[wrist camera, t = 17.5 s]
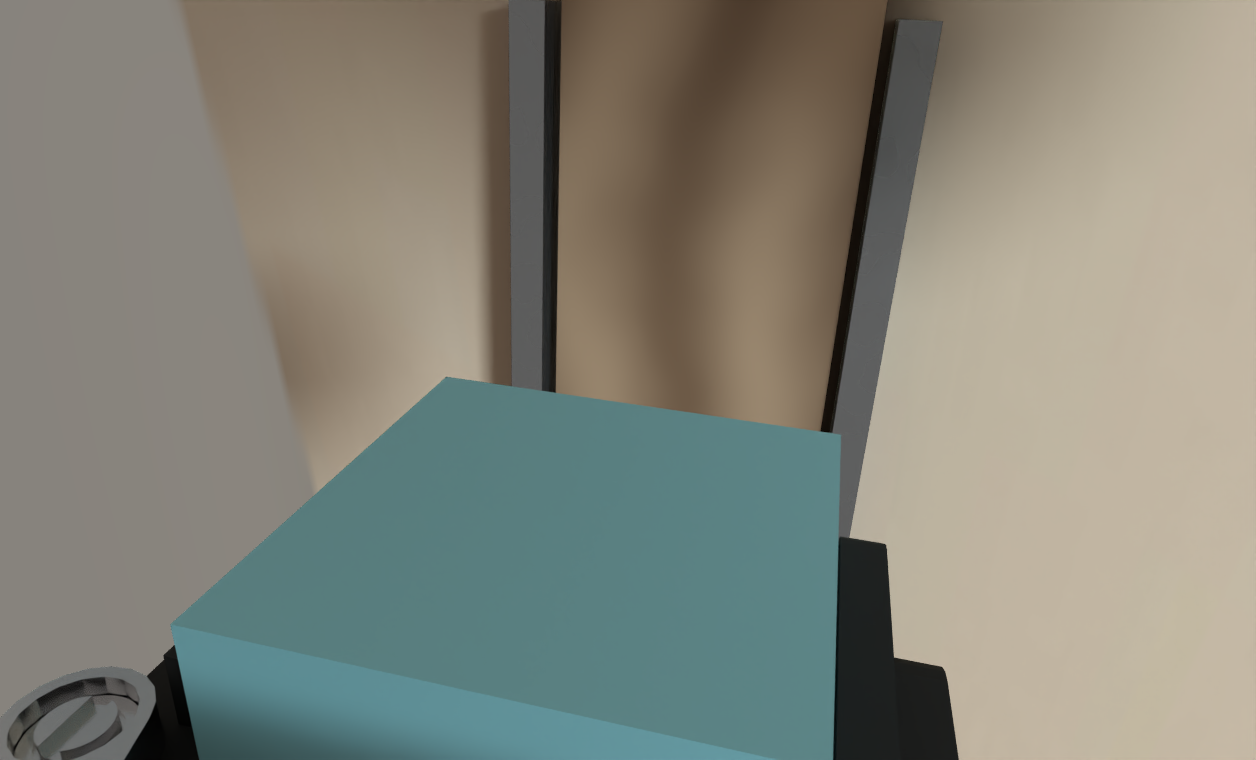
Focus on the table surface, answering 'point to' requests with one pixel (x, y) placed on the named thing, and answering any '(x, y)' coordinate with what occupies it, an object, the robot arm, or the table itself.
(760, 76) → the tan track base
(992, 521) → the table surface
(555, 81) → the guide rails
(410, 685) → the teal block
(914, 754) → the robot arm
